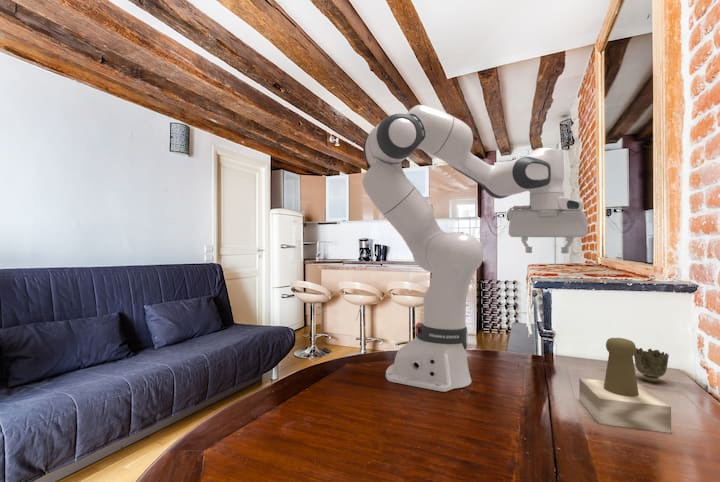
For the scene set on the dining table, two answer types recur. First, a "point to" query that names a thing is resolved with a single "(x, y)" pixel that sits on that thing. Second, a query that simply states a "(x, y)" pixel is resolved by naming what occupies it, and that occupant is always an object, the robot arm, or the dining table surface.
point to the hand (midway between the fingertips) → (546, 253)
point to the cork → (621, 368)
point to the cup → (651, 364)
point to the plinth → (625, 407)
